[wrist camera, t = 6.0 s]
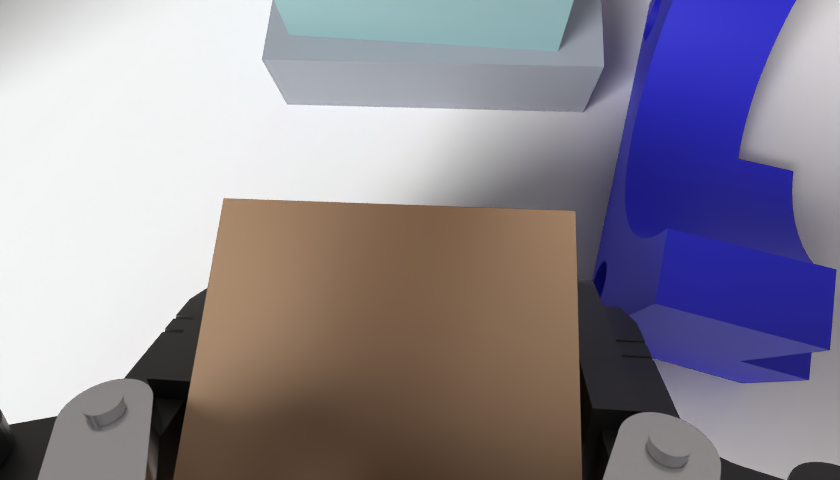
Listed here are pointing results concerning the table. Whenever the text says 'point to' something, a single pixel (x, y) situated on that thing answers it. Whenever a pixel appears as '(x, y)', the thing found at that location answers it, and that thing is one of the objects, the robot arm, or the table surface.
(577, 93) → the slate base slab
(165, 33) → the table surface
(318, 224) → the walnut block
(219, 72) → the table surface
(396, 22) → the teal top slab
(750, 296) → the cable clip
